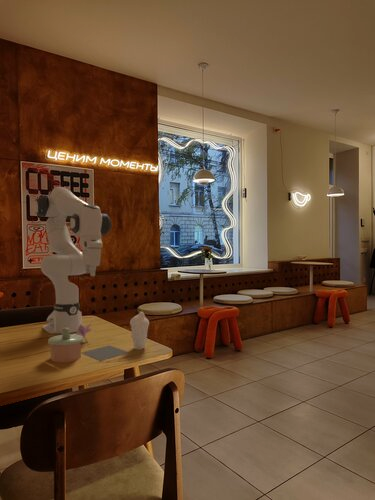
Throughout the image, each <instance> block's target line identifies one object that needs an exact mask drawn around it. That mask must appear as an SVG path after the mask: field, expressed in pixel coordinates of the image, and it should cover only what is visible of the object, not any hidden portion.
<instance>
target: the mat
mask: <svg viewBox="0 0 375 500" xmlns="http://www.w3.org/2000/svg"><path fill="white" fill-rule="evenodd" d="M129 353H130V351H127V350H124V349H121V348H118V347H116V346H112V345H110V344H109V345H105V346H102V347H101V346H100V347H98V348H94V349H91V350H86V351H82V352H81V355H85V356H87V357H89V358H91V359H95V360H97V361H99V362H101V361H105V360H108V359H112V358H115V357H119V356H122V354H123V355H126V354H129Z"/></svg>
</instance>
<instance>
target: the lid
mask: <svg viewBox="0 0 375 500" xmlns="http://www.w3.org/2000/svg"><path fill="white" fill-rule="evenodd" d="M47 340H48V341H47V343H48V345H50V346H51V345H57V346H64V345H72V344H77V343H80V342H81V343H82V342H83V341H84V338H83V336H81V335H77V334H76V333H70V328H62V333H61V334H59V335H55V336H52V337H49V338H48V339H47Z"/></svg>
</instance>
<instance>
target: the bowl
mask: <svg viewBox="0 0 375 500" xmlns="http://www.w3.org/2000/svg"><path fill="white" fill-rule="evenodd" d="M81 345H82V342H80V343H77V344H72V345H64V346H57V345H51V344H50V361H51V362H53V363H60V364H61V363H62V364H63V363H70V362H75V361H77V360H79V359H81V357H82V353H81V351H82V350H81V349H82V347H81Z"/></svg>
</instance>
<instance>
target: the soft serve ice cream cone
mask: <svg viewBox="0 0 375 500" xmlns="http://www.w3.org/2000/svg"><path fill="white" fill-rule="evenodd" d="M129 325H130V329H131V338H132V342H133V343H132V344H133V347H134V349H135V350H143V348H144V349H145V347H146V342H147V338H148V330H149V325H150V321H149V319H148V318H147V317H146V315H145V313H144V312H143V311H139V313H138V314H136V315H135V316H133V317H132V318H130V320H129Z"/></svg>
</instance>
